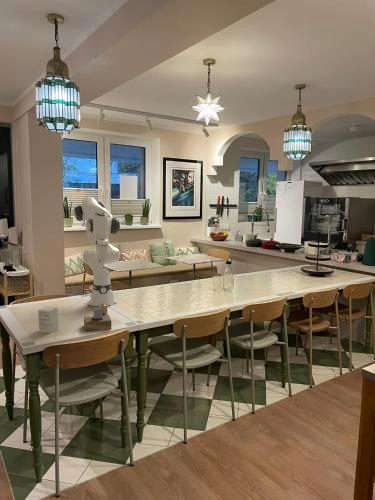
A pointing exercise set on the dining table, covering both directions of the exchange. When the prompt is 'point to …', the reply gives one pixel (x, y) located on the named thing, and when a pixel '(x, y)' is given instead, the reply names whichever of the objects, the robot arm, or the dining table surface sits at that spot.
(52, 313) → the supplement box
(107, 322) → the socket block
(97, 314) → the square bit
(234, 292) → the dining table surface
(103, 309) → the round bit
